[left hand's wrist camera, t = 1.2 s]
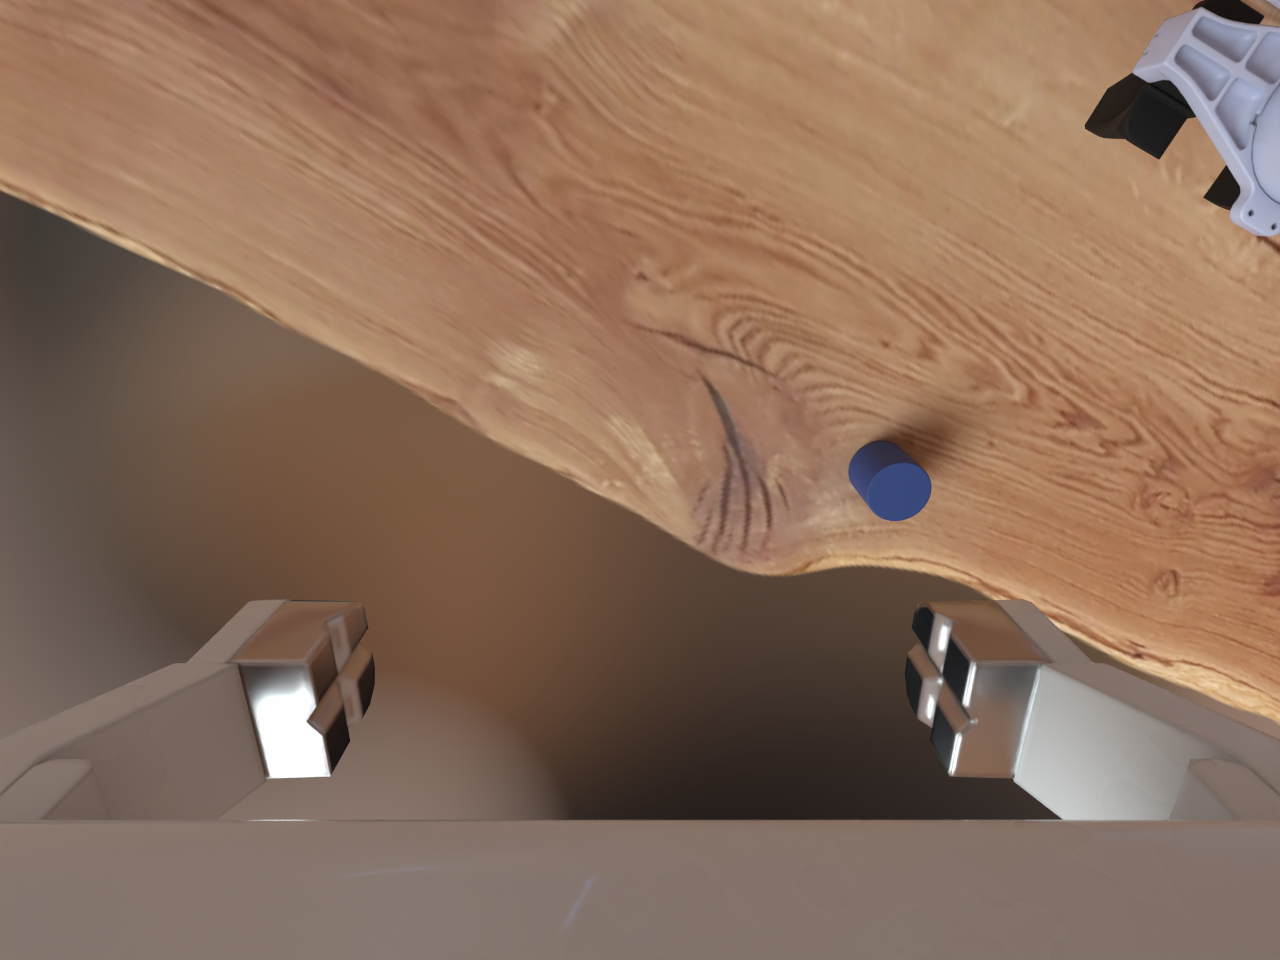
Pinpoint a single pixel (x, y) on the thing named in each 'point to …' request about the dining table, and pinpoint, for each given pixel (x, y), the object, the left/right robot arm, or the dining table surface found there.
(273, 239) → the dining table surface
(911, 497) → the canister
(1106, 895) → the left robot arm
